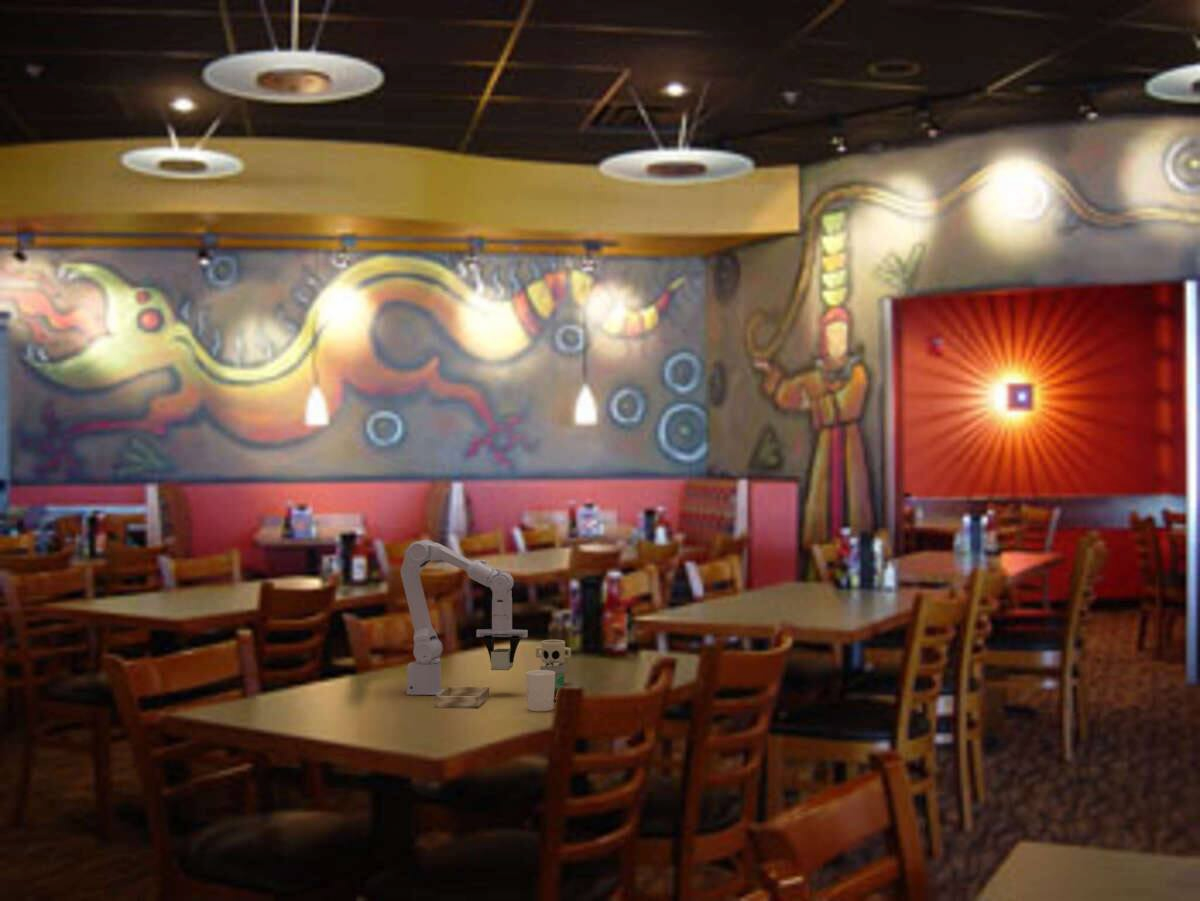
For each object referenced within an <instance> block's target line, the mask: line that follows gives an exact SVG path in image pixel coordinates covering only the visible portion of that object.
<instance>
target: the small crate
mask: <svg viewBox="0 0 1200 901" xmlns="http://www.w3.org/2000/svg"><path fill="white" fill-rule="evenodd" d="M513 666H514V662H513V663H510V648H494V650H493V651H492V652H491V662H490V670H491V671H509V670H511V668H513Z"/></svg>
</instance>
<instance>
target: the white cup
mask: <svg viewBox="0 0 1200 901" xmlns="http://www.w3.org/2000/svg"><path fill="white" fill-rule="evenodd" d="M525 676H526V678H525V679H526V695H527V696H526V697H527V698H526V699H527V709H528V710H529V711H531V712H550V711H553V709H554V701H553V700H554V690H555V672H554V671H548V670H540V669H535V670H529V671H526V672H525Z"/></svg>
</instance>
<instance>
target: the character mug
mask: <svg viewBox="0 0 1200 901" xmlns="http://www.w3.org/2000/svg"><path fill="white" fill-rule="evenodd" d="M540 651H541V653H540ZM566 651H567V655H566ZM535 657H536V658H539V659H541V661H542V663H545V666H546V665H549V664H550V660H552V661H561V662H564V663H565V661H566V660H567V659H569V660H570V659H572V658H571V657H572V649H571V647H566V641H565V640H562V639H545V640H542V641H541V646H535Z"/></svg>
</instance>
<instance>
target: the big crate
mask: <svg viewBox="0 0 1200 901" xmlns="http://www.w3.org/2000/svg"><path fill="white" fill-rule="evenodd" d="M443 689H444V690H443V691H441V692H440V693H439V694H438V695H434V696H435V697H434V699H435V700H434V702H435V704H434V706H435V708H446V707H447V709H448V708H449V709H451V708H453V709H454V708H457V709H479V708H481V707H482V706H483V705H484V704H485V703H486V702H487V701H488V700H489V699H490V687H489V686H484V687H483V686H447V687H445V688H443Z"/></svg>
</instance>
